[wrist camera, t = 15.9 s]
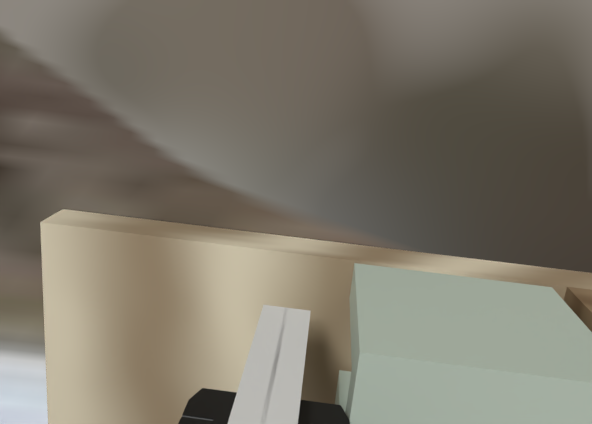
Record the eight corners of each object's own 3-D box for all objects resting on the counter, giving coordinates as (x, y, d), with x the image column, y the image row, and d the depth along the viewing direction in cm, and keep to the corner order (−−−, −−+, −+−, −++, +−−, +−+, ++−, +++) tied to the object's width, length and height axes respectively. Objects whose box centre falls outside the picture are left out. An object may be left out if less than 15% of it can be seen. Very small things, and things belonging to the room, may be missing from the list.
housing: (334, 401, 18) (332, 532, 13) (354, 263, 17) (359, 352, 12) (516, 425, 18) (582, 568, 13) (552, 287, 17) (641, 389, 12)
